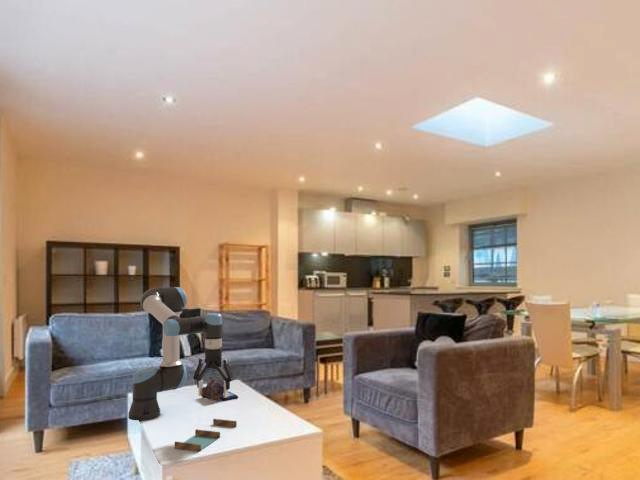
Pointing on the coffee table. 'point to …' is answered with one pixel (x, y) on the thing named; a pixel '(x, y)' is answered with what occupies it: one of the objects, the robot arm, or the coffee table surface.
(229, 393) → the handheld game console
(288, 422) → the coffee table surface
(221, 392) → the rock
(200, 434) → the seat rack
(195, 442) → the marked pad
